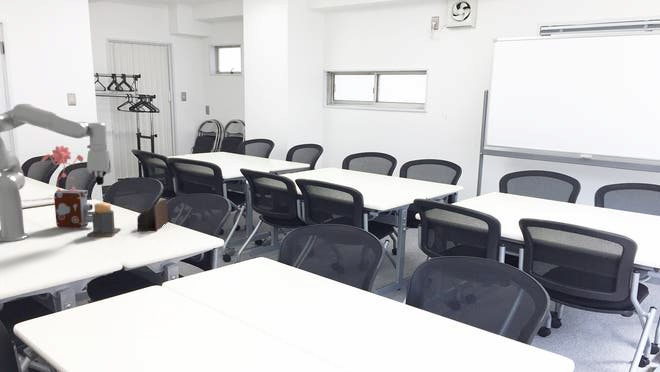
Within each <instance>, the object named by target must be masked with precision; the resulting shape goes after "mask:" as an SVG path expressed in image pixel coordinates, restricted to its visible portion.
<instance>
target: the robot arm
mask: <svg viewBox="0 0 660 372" xmlns="http://www.w3.org/2000/svg"><path fill="white" fill-rule="evenodd" d="M25 124H28V125H31V126H35V127H38V128H41V129H44V130H48V131H50V132H54V133H57V134H60V135H63V136H65V137H66V136H67V137H70V138H72V139H73V138H74V139H82V138H86V137H87V138H88V137H89V145H88V144H87V146H86V148H87V149H89V150H88V151H87V152H88V153H87V158H86V159H87V161H86V169H87V172H88V173H90V174H92V175H94V177H95V180H96V181H95V182H96V185H97V186H98V185H99V186H102V185H103V184H104V182H105V181H104V177H105V176H106V175H107V174H110V173H111V172H112V171H111V169H112V167H111V166H112V165H111V164H112V163H111V159H110V158H111V156H110V153H109V150H108V147H107V145H108V144H107V125H106V124H105V122H104V123H103V122H87V121H85V122H84V121H78V122H76V121H72V120H69V119H66V118H63V117H60V116H58V115H57V114H56V113H55V112H52V111H50V110H45V109H41V108H40V107H39V108H38V107H35V105H32V104H30V103H19V104H16V105H15V106H14V107H13V108H12V109H10V110H8V111H6V112H3V113H0V134H1V133H4V132H9V131H12V130H14V129H16V128H19V127H21V126H23V125H25ZM25 184H26V178H25V174H24V171H23V169H22V166H21V164H20V161H19V159H18V157H17V155H16V154H15V153H14V152H12V151H11V150H7V148H6V145H5V142H4V140H3V138H2V136H1V135H0V242H17V241H21V240H25V239H27V238H28V237H29V233H26V232H25V224H24V223H25V222H24V215H23V213H24V212H23V205H22V198H21V193H20V190H21V189H23V187H24V186H25Z"/></svg>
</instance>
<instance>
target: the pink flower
mask: <svg viewBox="0 0 660 372" xmlns="http://www.w3.org/2000/svg"><path fill="white" fill-rule="evenodd" d="M50 154H51V153H47V154H46V155H44V156H43V157H42V158H41V163H42V162H43V163H44V161H46V160H48V158H50V159H51V161H52V162H53V163H52V164H53V165H55V166H56V165H57V166H58V165H63V171H62V172H63V173H62V174H61V176H60V177H59V178H58V179H57V180H56V184H57V186H59V180H60V179H61V178H66V177H67V178H70V179H72V180H74V177H70V176H67V173H65V169H66V165H70V166H71V165H72V166H73V165H74V164H75V163H76V161H77V160H78V161H79V162H81V163H82V162H83V161H84V157H83V156H82V155H80V154H78V155H77V156H76V158H75V160H74V161H73V163H68V160H71V159H72V158H71V155H72V152H71V151H69V147H67V146H66V147H64V145H60V146H58V145H56V146H55V149H52V154H51V155H50ZM57 162H58V163H57ZM65 164H66V165H65ZM70 190H77V189H76V187H75V186H72V187H70ZM58 191H61V189H60V188H59V187H57V190H56V191H55V192H58ZM48 197H49V198H50V197H51V195H49V196H48Z"/></svg>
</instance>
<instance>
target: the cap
mask: <svg viewBox="0 0 660 372" xmlns="http://www.w3.org/2000/svg"><path fill="white" fill-rule="evenodd" d="M93 206H94V207H93V208H94V211H95V213H96V214H105V213H110V212H111V210H112V209H111V206H112V205H111V203H110V202H99V203H95V204H94V205H93Z"/></svg>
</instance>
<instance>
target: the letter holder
mask: <svg viewBox="0 0 660 372" xmlns="http://www.w3.org/2000/svg"><path fill="white" fill-rule="evenodd" d="M167 204H168V203H167V199H163V200H160V201H158V202H157V203H156V204H154V205H153V206H151V207H150V208H148V209H145V210H143V211H142V212H140V214H138V216H137V220H136V221H137V223H136V225H137V232H148V231H156V232H158V231H159V230H160V229H161V228H163V227H164V226H165V225H167V224H166V223H169V220H168V219H169V218H168V217H169V216H168V215H169V214H168V205H167ZM164 224H165V225H164ZM163 225H164V226H163ZM162 226H163V227H162ZM158 229H159V230H158ZM157 230H158V231H157Z"/></svg>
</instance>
